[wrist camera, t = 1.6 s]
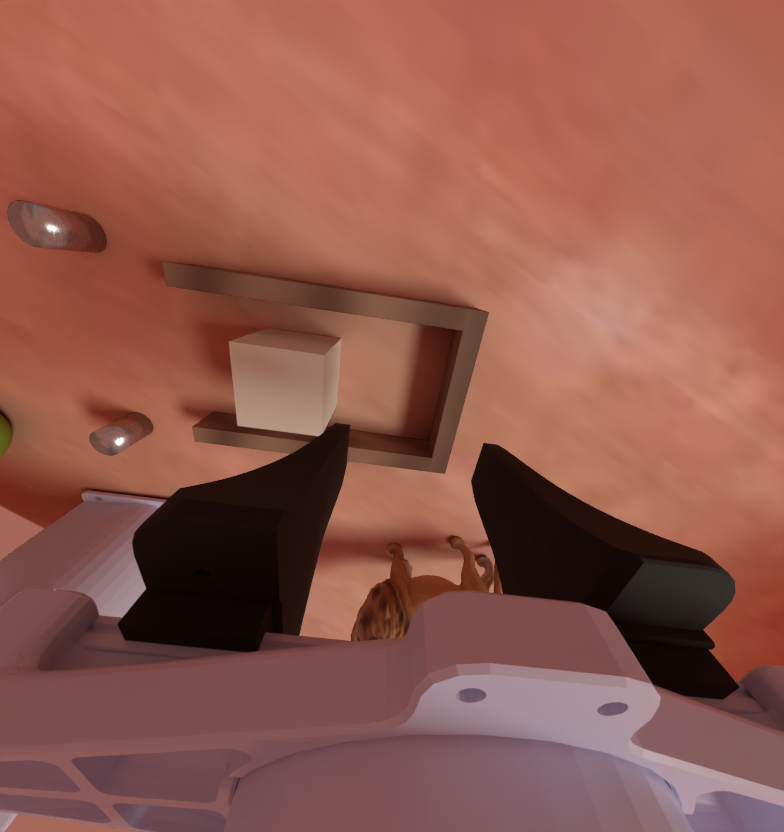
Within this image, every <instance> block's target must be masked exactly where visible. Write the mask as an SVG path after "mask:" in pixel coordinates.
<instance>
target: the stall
mask: <svg viewBox="0 0 784 832" xmlns="http://www.w3.org/2000/svg"><path fill="white" fill-rule="evenodd" d="M162 265H163V270H164V276H165V281H166V286H170V287H177V288H183V289H190V290H197V291H203V292H210V293H217V294H223V295H230V296H236V297H243V298H250V299H256V300H263V301H269V302H276V303H283V304H289V305H296V306H303V307H309V308H316V309H322V310H329V311H336V312H342V313H349V314H356V315H362V316H369V317H375V318H382V319H389V320H395V321H402V322H408V323H415V324H422V325H428V326H435V327H442V328H448V329H454V333H453V337H452V342H451V346H450V350H449V355H448V359H447V364H446V368H445V372H444V377H443V381H442V385H441V390H440V394H439V399H438V403H437V407H436V412H435V416H434V420H433V425H432V429H431V434H430V438H429V441H428V440H420V439H413V438H405V437H398V436H390V435H383V434H375V433H368V432H360V431H353V430H350V432H349V444H348V455H347V461H350V462H358V463H366V464H373V465H381V466H389V467H397V468H404V469H412V470H420V471H428V472H435V473H443V474H445V472H446V468H447V464H448V461H449V457H450V453H451V450H452V446H453V442H454V439H455V435H456V431H457V428H458V424H459V420H460V417H461V413H462V409H463V406H464V402H465V398H466V395H467V391H468V387H469V384H470V380H471V376H472V373H473V369H474V365H475V362H476V358H477V354H478V351H479V347H480V343H481V340H482V336H483V332H484V329H485V325H486V321H487V318H488V314H489V312H486V311H483V310H480V309H477V308H470V307H464V306H458V305H451V304H445V303H438V302H432V301H425V300H419V299H412V298H406V297H399V296H393V295H386V294H380V293H374V292H367V291H361V290H354V289H348V288H341V287H335V286H328V285H322V284H315V283H309V282H303V281H296V280H290V279H283V278H277V277H270V276H264V275H257V274H251V273H244V272H238V271H231V270H225V269H219V268H212V267H206V266H199V265H193V264H181V263H170V262H162ZM328 428H330V427H326V428H325V430H324V432H325V431H326V430H327V429H328ZM192 429H193V434H194V440H195V442H203V443H211V444H219V445H226V446H234V447H242V448H250V449H257V450H265V451H273V452H280V453H288V454H292V453H293V452H295V451H297V450H298V449H300V448H302V447H303V446H305V445H306V444H308V443H310V442H311V441H312V440H314V439H315V438H317V437H318V436H312V435H305V434H297V433H289V432H282V431H274V430H266V429H259V428H251V427H244V426H237V417H236V415H233V414H226V413H218V412H212V413H211V414H210V415H208V416H207V417H205V418H204V419H202V420H201V421H200V422H198V423H197V424H195V425H194V426H192Z"/></svg>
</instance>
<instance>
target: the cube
mask: <svg viewBox="0 0 784 832" xmlns="http://www.w3.org/2000/svg"><path fill="white" fill-rule="evenodd" d="M229 350H230V359H231V369H232V378H233V388H234V398H235V407H236V417H237V426H244V427H251V428H259V429H266V430H274V431H282V432H289V433H297V434H305V435H312V436H319V435H321V434H322V433H323V432H324V430H325V428H326V426H327V424H328V422H329V420H330V418H331V416H332V414H333V412H334V410H335V408H336V406H337V398H338V382H339V366H340V350H341V338H334V337H327V336H320V335H314V334H307V333H300V332H293V331H286V330H279V329H272V328H266V329H263V330H260V331H257V332H254V333H251V334H249V335H246V336H243V337H240V338H237V339H234V340H231V341H229Z"/></svg>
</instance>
